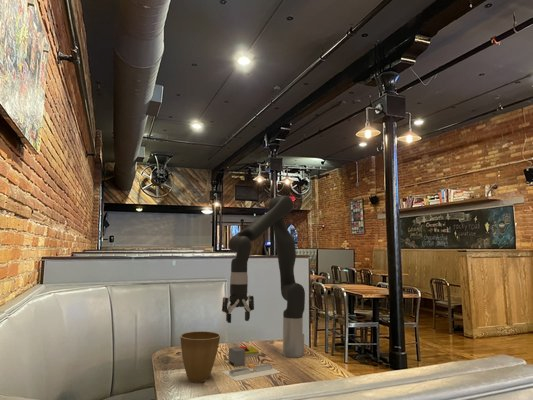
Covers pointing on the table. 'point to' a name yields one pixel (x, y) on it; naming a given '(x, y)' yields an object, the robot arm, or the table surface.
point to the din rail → (247, 370)
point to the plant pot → (199, 354)
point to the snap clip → (251, 366)
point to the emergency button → (250, 351)
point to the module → (236, 356)
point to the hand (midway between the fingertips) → (238, 321)
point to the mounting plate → (251, 374)
